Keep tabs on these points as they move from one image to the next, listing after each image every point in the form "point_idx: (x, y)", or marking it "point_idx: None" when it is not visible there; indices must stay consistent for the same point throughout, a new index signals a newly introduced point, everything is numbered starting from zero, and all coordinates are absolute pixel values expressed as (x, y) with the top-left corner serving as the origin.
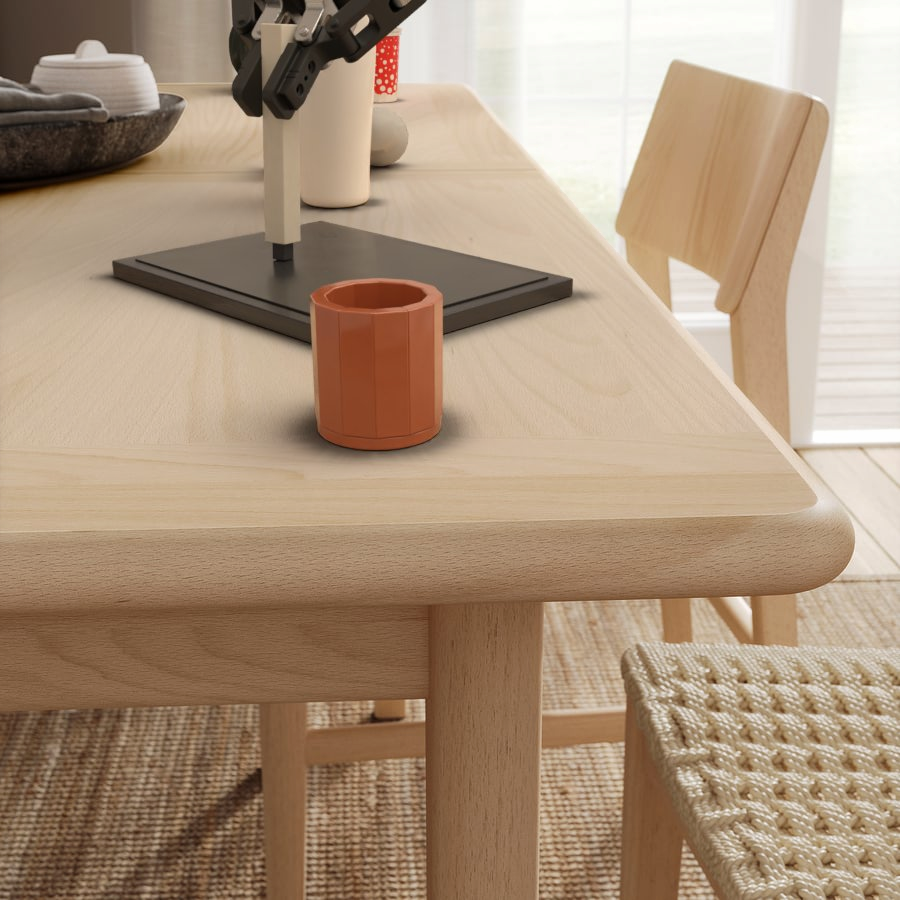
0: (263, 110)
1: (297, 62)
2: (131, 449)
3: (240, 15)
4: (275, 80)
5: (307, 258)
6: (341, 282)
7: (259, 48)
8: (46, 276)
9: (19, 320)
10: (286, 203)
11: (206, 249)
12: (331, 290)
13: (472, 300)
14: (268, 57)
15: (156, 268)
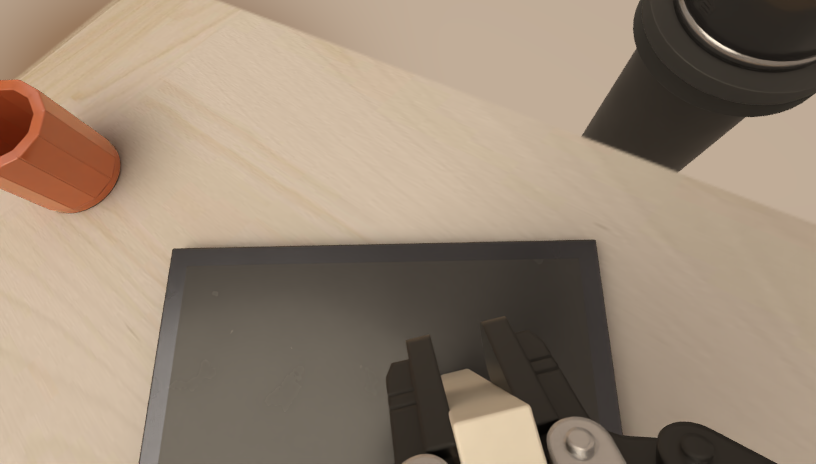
0: (490, 383)
1: (408, 426)
2: (184, 53)
3: (707, 452)
4: (413, 358)
5: None
6: (37, 127)
7: (530, 402)
8: (640, 196)
9: (494, 113)
10: None
11: (567, 347)
12: (32, 109)
13: (160, 426)
14: (488, 399)
15: (525, 255)
